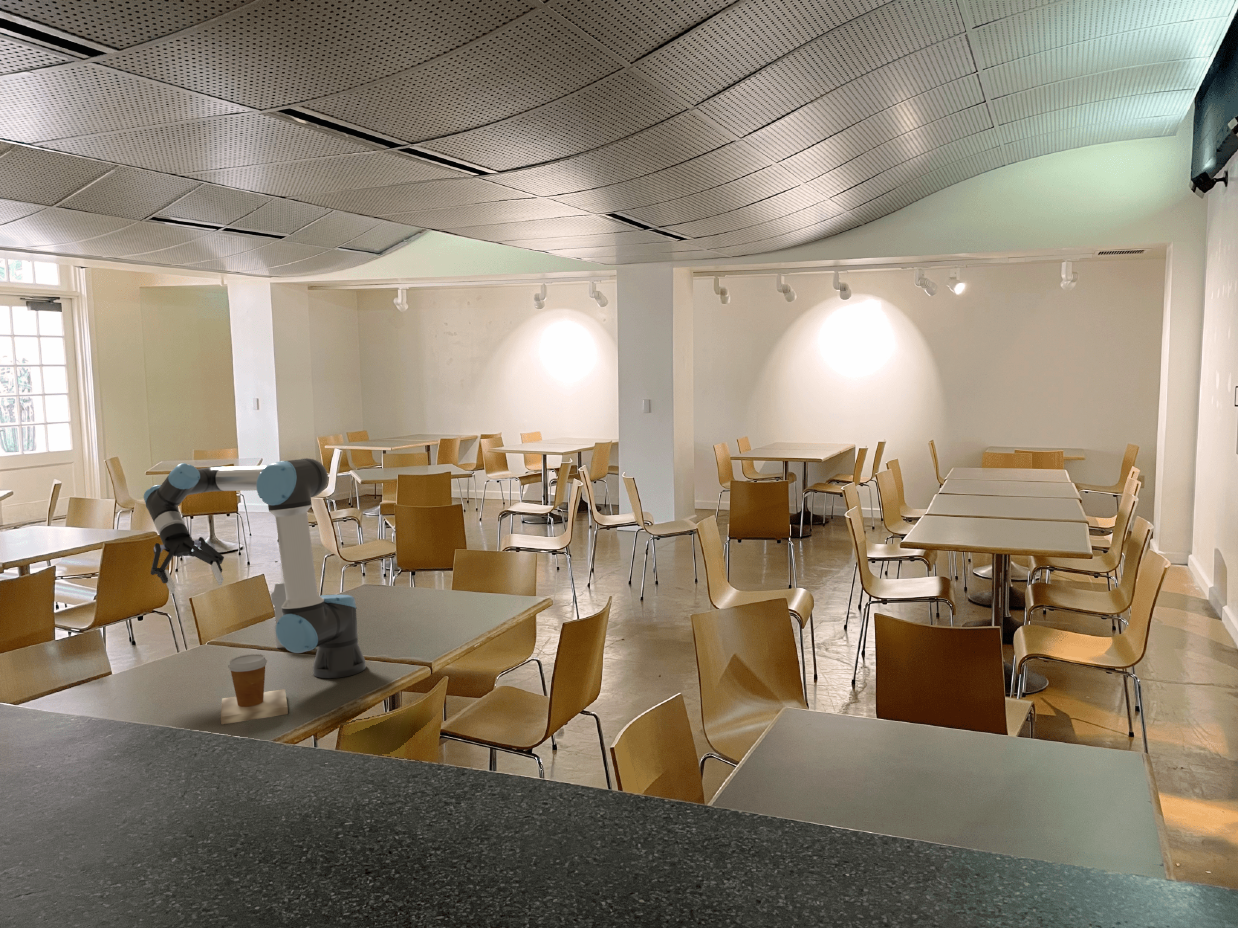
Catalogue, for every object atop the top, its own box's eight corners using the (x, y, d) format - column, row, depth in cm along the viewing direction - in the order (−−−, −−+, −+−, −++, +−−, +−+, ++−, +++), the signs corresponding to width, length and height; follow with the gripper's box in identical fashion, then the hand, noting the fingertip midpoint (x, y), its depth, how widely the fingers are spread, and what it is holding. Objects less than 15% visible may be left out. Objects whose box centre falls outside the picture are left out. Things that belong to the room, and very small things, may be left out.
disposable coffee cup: (243, 711, 236) (240, 666, 235) (224, 705, 242) (220, 660, 241) (277, 700, 244) (273, 656, 243) (257, 694, 249) (254, 651, 248)
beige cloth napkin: (285, 695, 254) (285, 688, 254) (287, 713, 239) (287, 706, 239) (222, 705, 248) (222, 698, 248) (221, 724, 233) (220, 716, 233)
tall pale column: (274, 649, 302) (269, 583, 301) (274, 646, 306) (270, 581, 305) (308, 645, 306) (303, 580, 304) (308, 642, 310) (304, 578, 308)
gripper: (211, 532, 282) (237, 586, 273) (124, 544, 264) (148, 602, 255) (217, 516, 278) (243, 570, 269) (130, 527, 260) (154, 585, 251)
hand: (197, 586), depth 262 cm, fingers open, 13 cm apart
